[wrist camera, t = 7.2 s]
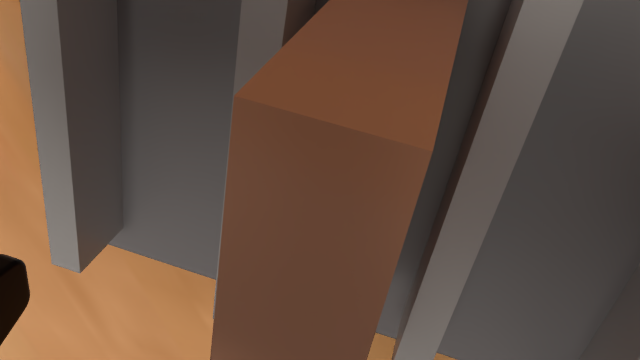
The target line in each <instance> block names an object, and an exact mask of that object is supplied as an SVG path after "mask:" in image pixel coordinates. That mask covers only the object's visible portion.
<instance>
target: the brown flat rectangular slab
mask: <svg viewBox="0 0 640 360" xmlns="http://www.w3.org/2000/svg"><path fill="white" fill-rule="evenodd" d="M467 3H468V0H329V1H328V2H327V3H326V4H325V5H324V6H323V7H322V8H321V9H320V10H319V11H318V12H317V13H316V14H315V15H314V16H313V17H312V18H311V19H310V20H309V21H308V22H307V23H306V24H305V25H304V26H303V27H302V28H301V29H300V30H299V31H298V32H297V33H296V34H295V35H294V36H293V37H292V38H291V39H290V40H289V41H288V42H287V43H286V44H285V45H284V46H283V47H282V48H281V49H280V50H279V51H278V52H277V53H276V54H275V55H274V56H273V57H272V58H271V59H270V60H269V61H268V62H267V63H266V64H265V65H264V66H263V67H262V68H261V69H260V70H259V71H258V72H257V73H256V74H255V75H254V76H253V77H252V78H251V79H250V80H249V81H248V82H247V83H246V84H245V85H244V86H243V87H242V88H241V89H240V90H239V91H238V92H237V93H236V94H235V95H234V101H233V112H232V123H231V134H230V145H229V156H228V167H227V179H226V190H225V201H224V212H223V223H222V234H221V245H220V257H219V268H218V279H217V290H216V301H215V312H214V323H213V335H212V346H211V357H210V360H367V357H368V354H369V351H370V347H371V344H372V341H373V338H374V335H375V332H376V329H377V325H378V322H379V319H380V316H381V313H382V310H383V307H384V303H385V300H386V297H387V294H388V291H389V288H390V284H391V281H392V278H393V275H394V272H395V269H396V266H397V262H398V259H399V256H400V253H401V250H402V247H403V244H404V240H405V237H406V234H407V231H408V228H409V225H410V222H411V218H412V215H413V212H414V209H415V206H416V203H417V200H418V196H419V193H420V190H421V187H422V184H423V181H424V178H425V174H426V171H427V168H428V165H429V162H430V159H431V156H432V152H433V148H434V144H435V140H436V136H437V131H438V127H439V123H440V119H441V114H442V110H443V106H444V101H445V97H446V93H447V89H448V84H449V80H450V76H451V72H452V67H453V63H454V59H455V55H456V50H457V46H458V42H459V38H460V33H461V29H462V25H463V20H464V16H465V12H466V8H467Z"/></svg>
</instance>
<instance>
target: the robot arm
mask: <svg viewBox="0 0 640 360" xmlns="http://www.w3.org/2000/svg"><path fill="white" fill-rule="evenodd" d="M29 298H30V290H29V284H28V278H27V271H26V266H25V264H24V262H23V261H22V260H19V259H17V258H14V257H11V256H8V255H4V254H0V345H1V344H2V343H3V341H4V340H5V338H6V337H7V335H8V334H9V332H10V331H11V329H12V328H13V326H14V325H15V323H16V322H17V320H18V319H19V317H20V316H21V314H22V313H23V311H24V310H25V308H26V307H27V304H28V302H29Z"/></svg>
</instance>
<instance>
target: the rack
mask: <svg viewBox="0 0 640 360" xmlns="http://www.w3.org/2000/svg"><path fill="white" fill-rule="evenodd" d="M328 1H329V0H20V5H21V14H22V22H23V30H24V38H25V46H26V55H27V63H28V71H29V79H30V88H31V96H32V104H33V112H34V121H35V129H36V137H37V145H38V154H39V162H40V170H41V178H42V186H43V195H44V203H45V211H46V219H47V228H48V236H49V244H50V252H51V261H52V264H54V265H57V266H60V267H63V268H66V269H69V270H72V271H74V272H77V273H81V272H82V271H83V270H84V269H85V268H86V267H87V266H88V265H89V264H90V263H91V261H92V260H93V259H94V258H95V257H96V256H97V255H98V254H99V253H100V252H101V251H102V250H103V249H104V248H105V247H106V246H107V245H108V244H109V245H112V246H115V247H118V248H121V249H124V250H127V251H130V252H133V253H136V254H139V255H142V256H145V257H148V258H151V259H155V260H158V261H161V262H164V263H167V264H170V265H173V266H176V267H179V268H182V269H185V270H188V271H191V272H194V273H197V274H200V275H203V276H206V277H209V278H212V279H215V280H216V288H215V299H214V310H213V319H214V312H215V301H216V290H217V279H218V268H219V257H220V245H221V234H222V223H223V212H224V201H225V190H226V179H227V167H228V156H229V145H230V134H231V123H232V112H233V101H234V95H235V94H236V93H237V92H238V91H239V90H240V89H241V88H242V87H243V86H244V85H245V84H246V83H247V82H248V81H249V80H250V79H251V78H252V77H253V76H254V75H255V74H256V73H257V72H258V71H259V70H260V69H261V68H262V67H263V66H264V65H265V64H266V63H267V62H268V61H269V60H270V59H271V58H272V57H273V56H274V55H275V54H276V53H277V52H278V51H279V50H280V49H281V48H282V47H283V46H284V45H285V44H286V43H287V42H288V41H289V40H290V39H291V38H292V37H293V36H294V35H295V34H296V33H297V32H298V31H299V30H300V29H301V28H302V27H303V26H304V25H305V24H306V23H307V22H308V21H309V20H310V19H311V18H312V17H313V16H314V15H315V14H316V13H317V12H318V11H319V10H320V9H321V8H322V7H323V6H324V5H325V4H326V3H327V2H328ZM376 333H379V334H382V335H385V336H388V337H391V338H394V339H396V342H395V346H394V351H393V355H392V360H433V359H434V357H435V354H436V352H437V353H440V354H443V355H446V356H449V357H452V358H455V359H458V360H640V0H468V3H467V8H466V12H465V16H464V20H463V25H462V29H461V33H460V38H459V42H458V46H457V50H456V55H455V59H454V63H453V67H452V72H451V76H450V80H449V84H448V89H447V93H446V97H445V101H444V106H443V110H442V114H441V119H440V123H439V127H438V131H437V136H436V140H435V144H434V148H433V152H432V156H431V159H430V162H429V165H428V168H427V171H426V174H425V178H424V181H423V184H422V187H421V190H420V193H419V196H418V200H417V203H416V206H415V209H414V212H413V215H412V218H411V222H410V225H409V228H408V231H407V234H406V237H405V240H404V244H403V247H402V250H401V253H400V256H399V259H398V262H397V266H396V269H395V272H394V275H393V278H392V281H391V284H390V288H389V291H388V294H387V297H386V300H385V303H384V307H383V310H382V313H381V316H380V319H379V322H378V325H377V329H376Z"/></svg>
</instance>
